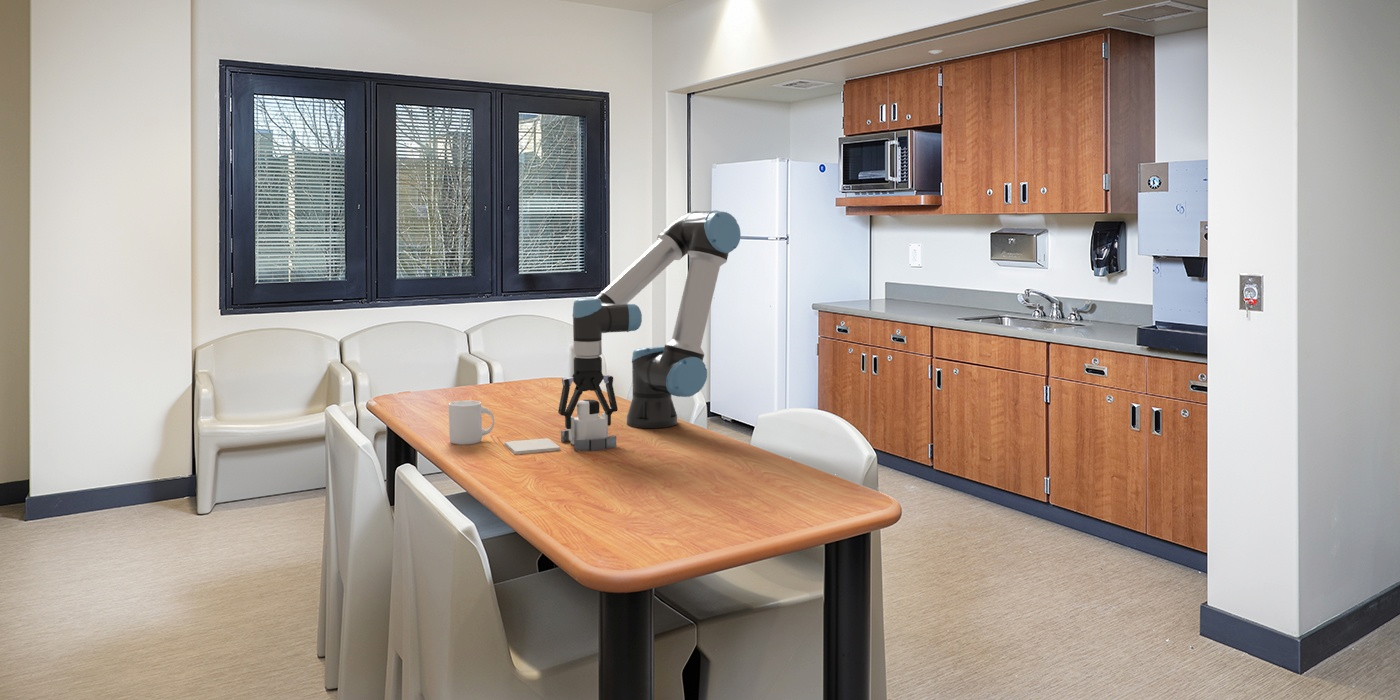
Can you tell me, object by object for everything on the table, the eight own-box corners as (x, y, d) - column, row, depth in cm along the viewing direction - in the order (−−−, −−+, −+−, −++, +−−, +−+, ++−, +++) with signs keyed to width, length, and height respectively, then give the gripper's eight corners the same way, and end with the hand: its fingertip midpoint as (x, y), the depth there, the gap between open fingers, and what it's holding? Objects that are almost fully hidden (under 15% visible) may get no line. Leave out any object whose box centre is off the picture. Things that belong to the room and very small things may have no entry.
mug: (496, 442, 261) (496, 404, 260) (451, 446, 257) (450, 406, 256) (492, 436, 269) (491, 398, 268) (448, 439, 265) (447, 401, 264)
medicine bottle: (590, 440, 265) (590, 397, 264) (607, 444, 260) (606, 400, 259) (569, 444, 260) (569, 400, 259) (586, 448, 255) (585, 403, 254)
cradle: (599, 436, 270) (599, 425, 270) (619, 448, 255) (619, 437, 255) (559, 439, 265) (558, 429, 265) (576, 452, 250) (576, 441, 250)
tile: (548, 441, 264) (547, 438, 264) (560, 450, 253) (560, 447, 253) (504, 444, 259) (504, 441, 259) (515, 454, 248) (515, 451, 248)
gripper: (620, 352, 265) (621, 433, 268) (544, 356, 256) (545, 439, 259) (630, 355, 258) (630, 438, 261) (552, 359, 249) (553, 445, 252)
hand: (588, 439), depth 260 cm, fingers closed on medicine bottle, 9 cm apart
